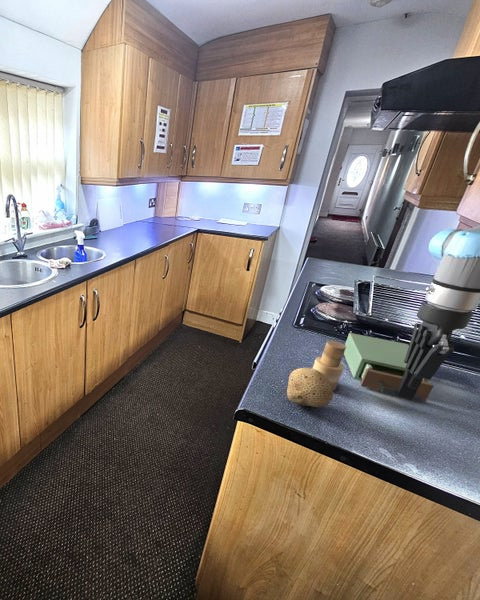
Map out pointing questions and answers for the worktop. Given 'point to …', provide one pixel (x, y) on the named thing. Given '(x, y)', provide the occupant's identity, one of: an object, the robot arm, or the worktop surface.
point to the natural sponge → (309, 388)
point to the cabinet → (374, 353)
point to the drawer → (390, 381)
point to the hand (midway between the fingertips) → (403, 396)
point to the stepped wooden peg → (331, 362)
